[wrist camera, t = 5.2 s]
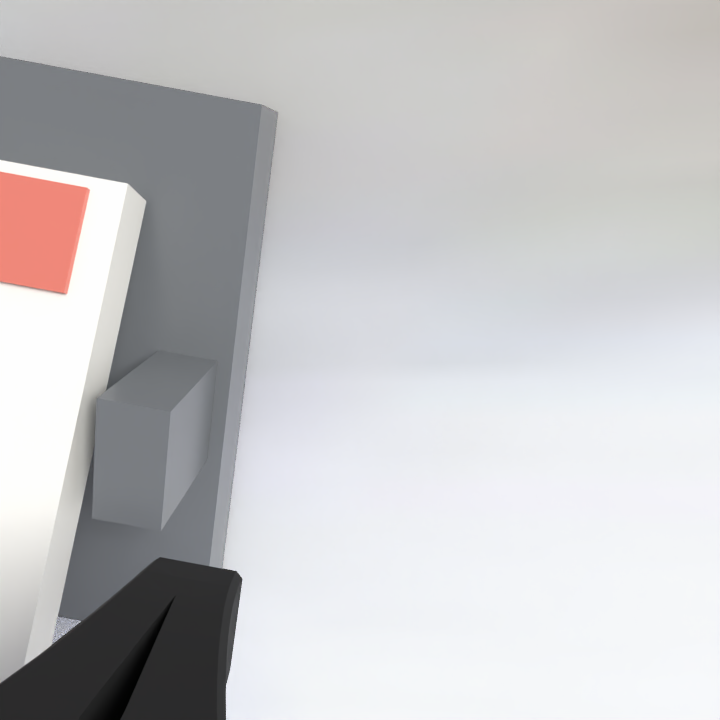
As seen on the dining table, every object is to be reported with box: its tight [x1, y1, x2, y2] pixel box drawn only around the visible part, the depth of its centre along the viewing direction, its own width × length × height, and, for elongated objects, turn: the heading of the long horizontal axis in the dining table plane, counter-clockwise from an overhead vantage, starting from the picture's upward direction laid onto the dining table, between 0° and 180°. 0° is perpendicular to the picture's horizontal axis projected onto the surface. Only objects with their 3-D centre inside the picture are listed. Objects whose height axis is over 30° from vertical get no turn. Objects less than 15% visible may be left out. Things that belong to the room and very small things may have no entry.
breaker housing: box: [0, 56, 278, 621], centre depth 16 cm, size 16×11×6 cm
